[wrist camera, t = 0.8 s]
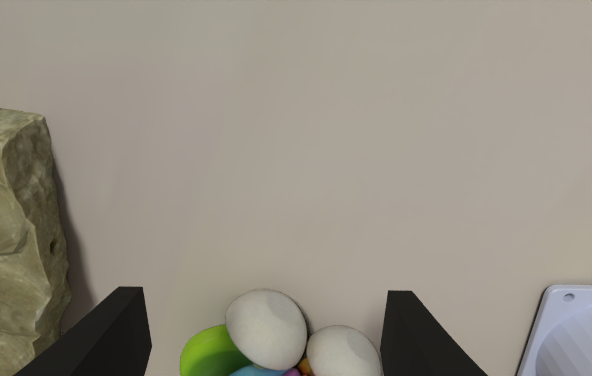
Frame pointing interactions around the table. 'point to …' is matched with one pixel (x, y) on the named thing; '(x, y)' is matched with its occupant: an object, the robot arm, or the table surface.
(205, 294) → the table surface
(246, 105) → the table surface
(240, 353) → the multicoloured spiky piece
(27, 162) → the folded green towel
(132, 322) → the robot arm
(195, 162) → the table surface
